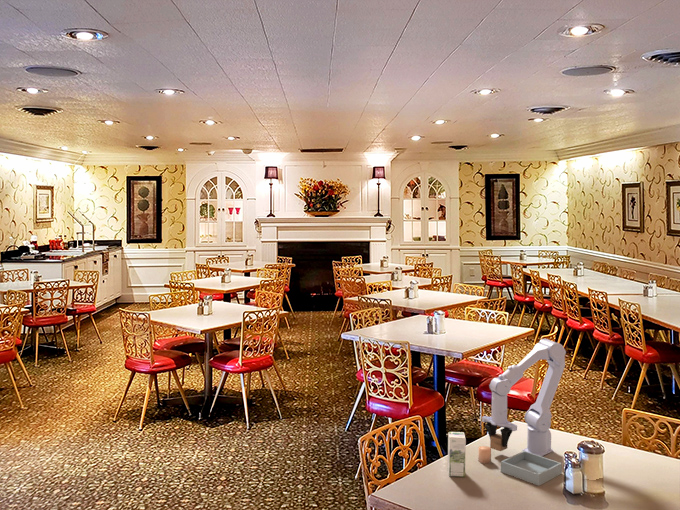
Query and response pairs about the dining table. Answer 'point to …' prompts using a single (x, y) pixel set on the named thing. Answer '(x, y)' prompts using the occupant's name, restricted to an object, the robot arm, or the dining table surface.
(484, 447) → the peach rounded capsule
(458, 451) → the syrup box
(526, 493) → the dining table surface
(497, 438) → the walnut block
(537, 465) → the tote
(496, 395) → the robot arm
